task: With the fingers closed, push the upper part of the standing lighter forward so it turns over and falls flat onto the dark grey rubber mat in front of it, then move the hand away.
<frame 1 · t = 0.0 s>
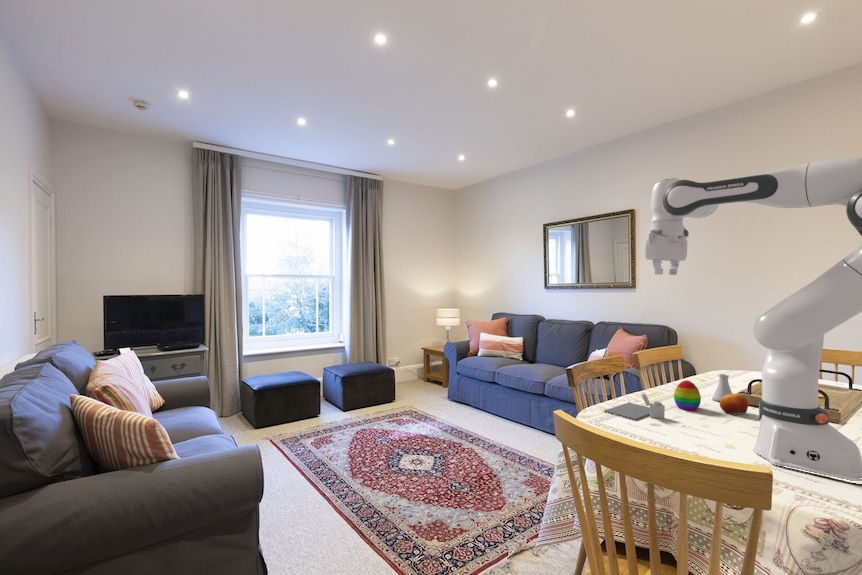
hand: (666, 274, 131), 48 cm above the table, tool pointing down, fingers open, 8 cm apart
lighter: (651, 417, 139), on the table, touching mat
flask: (723, 401, 157), on the table
fruit: (733, 413, 142), on the table
decorative egg: (687, 408, 148), on the table
mat: (631, 411, 144), on the table
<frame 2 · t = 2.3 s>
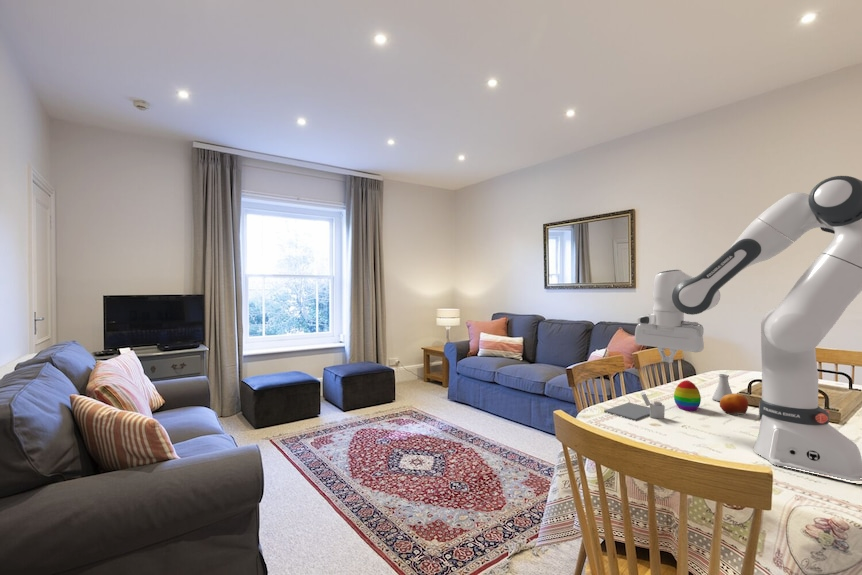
hand: (667, 362, 134), 19 cm above the table, tool pointing down, fingers closed
nothing on the table moved.
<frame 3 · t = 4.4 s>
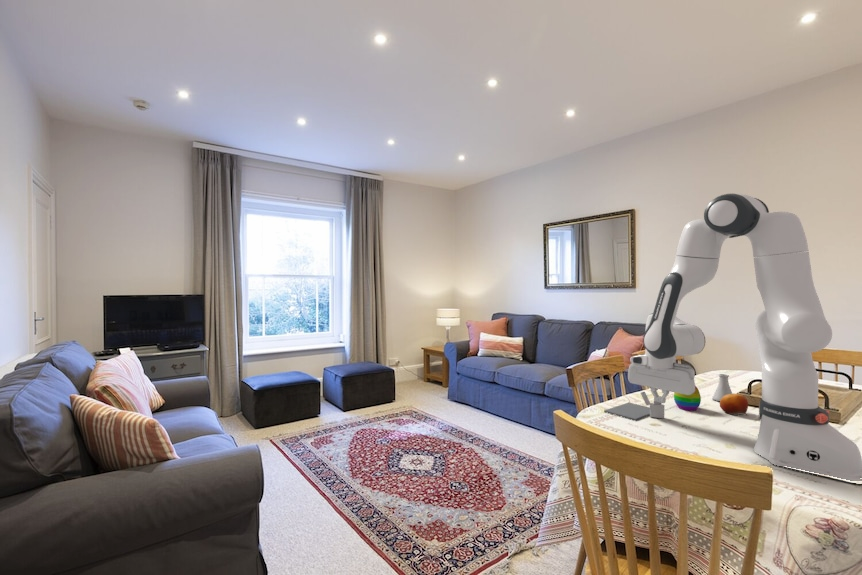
hand: (659, 402, 136), 6 cm above the table, tool pointing down, fingers closed
lighter: (651, 417, 138), on the table, touching gripper, mat
everything else where it was.
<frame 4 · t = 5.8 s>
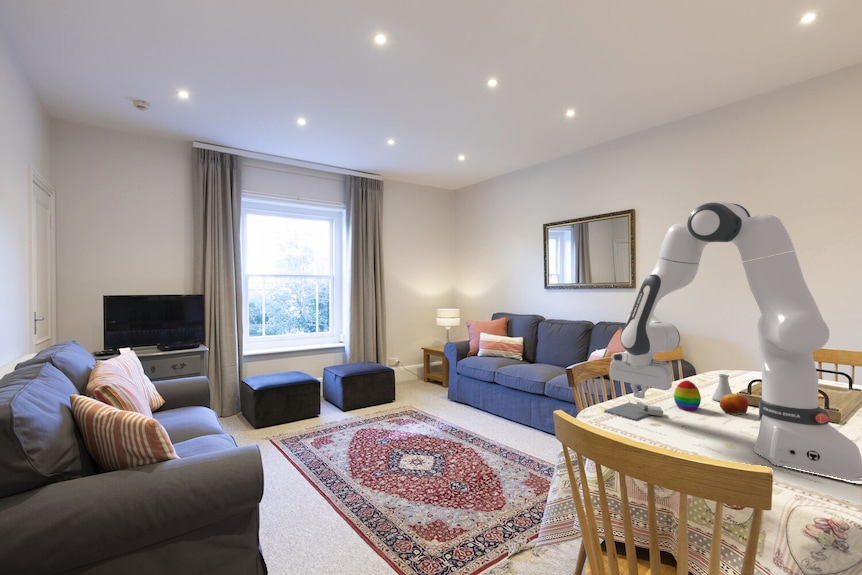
hand: (639, 397, 142), 6 cm above the table, tool pointing down, fingers closed
lighter: (651, 412, 139), point 1 cm above the table, touching mat
everything else where it was.
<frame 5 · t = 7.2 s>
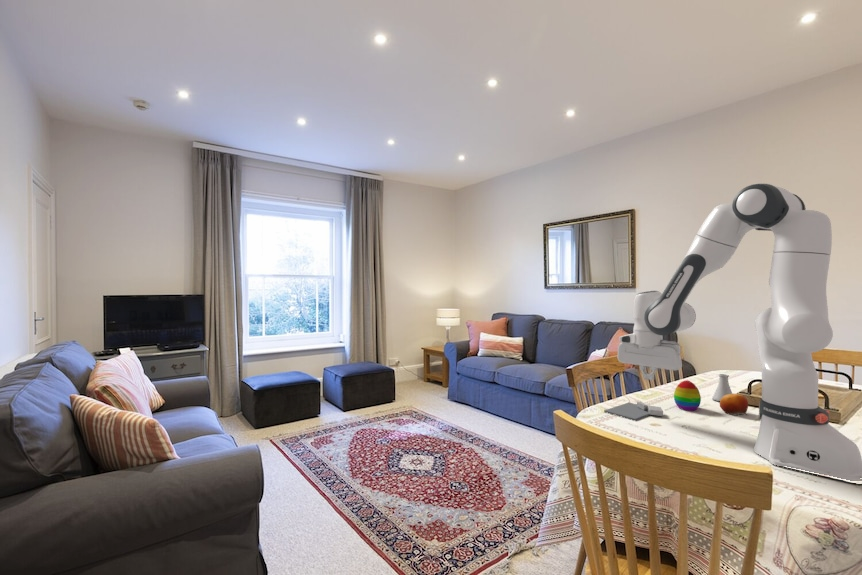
hand: (648, 379, 139), 13 cm above the table, tool pointing down, fingers closed
nothing on the table moved.
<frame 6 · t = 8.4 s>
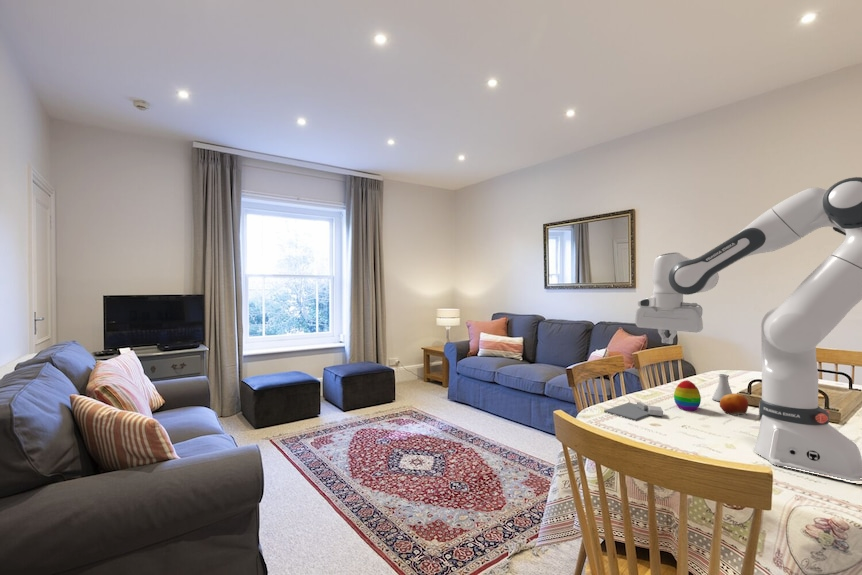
hand: (667, 343, 137), 25 cm above the table, tool pointing down, fingers closed
nothing on the table moved.
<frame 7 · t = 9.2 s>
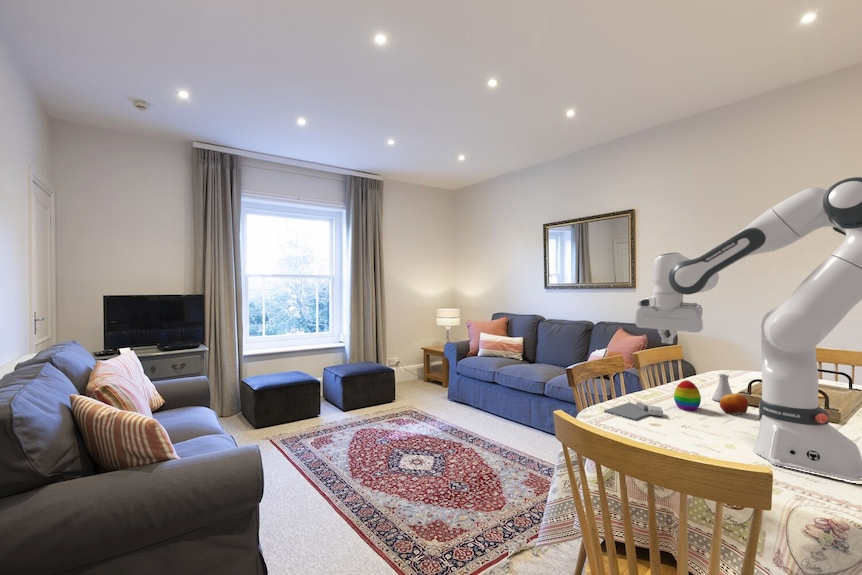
hand: (667, 343, 137), 25 cm above the table, tool pointing down, fingers closed
nothing on the table moved.
at the end: lighter tilted 88°; lighter inside the target area on the mat (6.5 cm from its centre), point 1.4 cm above the mat's base; the gripper is holding nothing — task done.
